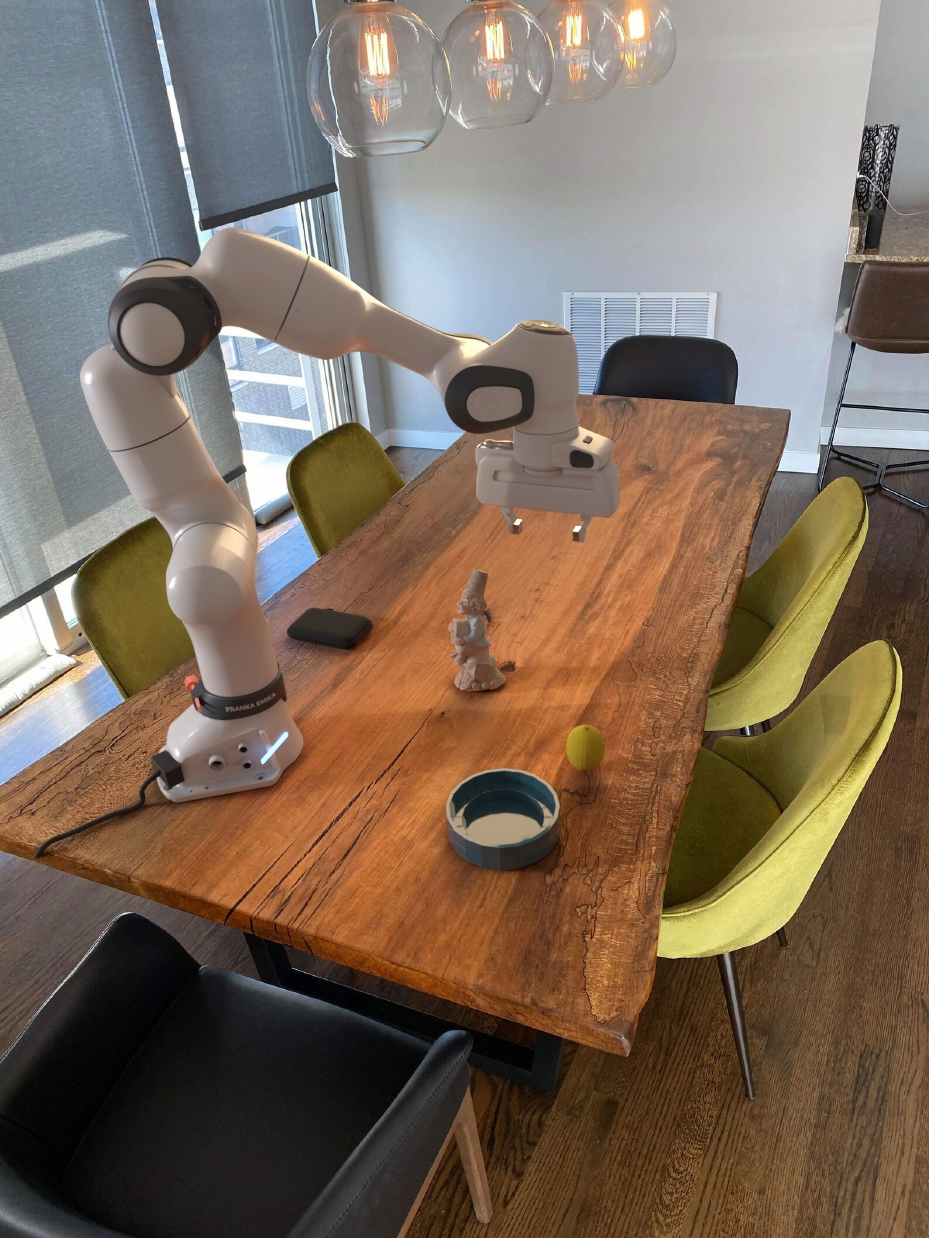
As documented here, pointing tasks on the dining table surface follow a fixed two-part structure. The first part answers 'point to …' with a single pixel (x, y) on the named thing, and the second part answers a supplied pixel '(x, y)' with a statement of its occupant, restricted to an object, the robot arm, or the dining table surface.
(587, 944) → the dining table surface
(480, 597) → the figurine
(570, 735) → the lemon
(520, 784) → the bowl
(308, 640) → the carrying case
